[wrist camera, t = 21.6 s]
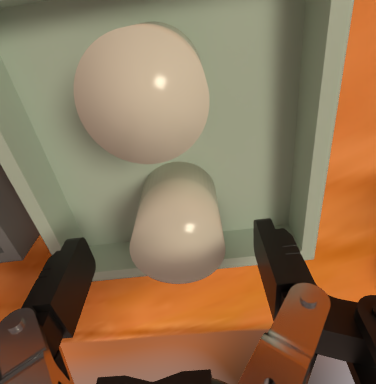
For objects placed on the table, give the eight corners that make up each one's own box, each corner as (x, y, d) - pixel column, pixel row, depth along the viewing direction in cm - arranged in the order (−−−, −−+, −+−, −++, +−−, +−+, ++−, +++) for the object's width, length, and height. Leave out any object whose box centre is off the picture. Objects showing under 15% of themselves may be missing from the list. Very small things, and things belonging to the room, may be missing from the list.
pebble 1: (98, 27, 12) (52, 35, 8) (198, 15, 12) (204, 16, 8) (121, 125, 15) (95, 169, 11) (205, 116, 15) (213, 158, 10)
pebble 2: (135, 166, 16) (117, 220, 12) (212, 156, 16) (222, 208, 12) (151, 225, 19) (141, 287, 14) (218, 218, 18) (228, 279, 14)
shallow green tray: (-32, -6, 12) (-100, -12, 10) (321, -69, 11) (369, -98, 8) (84, 245, 21) (68, 283, 18) (294, 222, 20) (313, 259, 17)
